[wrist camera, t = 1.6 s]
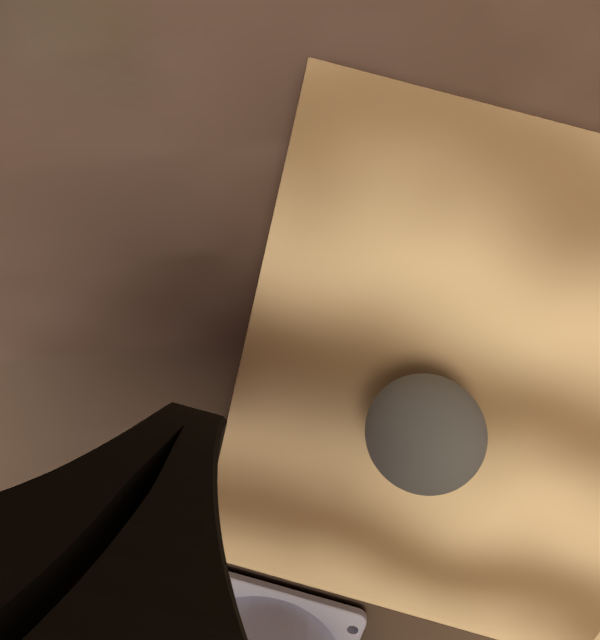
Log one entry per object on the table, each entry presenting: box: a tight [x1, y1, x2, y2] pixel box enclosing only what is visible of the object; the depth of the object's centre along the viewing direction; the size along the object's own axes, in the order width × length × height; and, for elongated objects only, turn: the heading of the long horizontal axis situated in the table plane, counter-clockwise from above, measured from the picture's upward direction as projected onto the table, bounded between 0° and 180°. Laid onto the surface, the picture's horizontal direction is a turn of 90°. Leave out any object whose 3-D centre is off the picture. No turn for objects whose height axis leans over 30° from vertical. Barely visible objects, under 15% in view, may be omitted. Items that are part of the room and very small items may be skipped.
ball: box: [365, 373, 488, 496], centre depth 14 cm, size 4×4×4 cm
